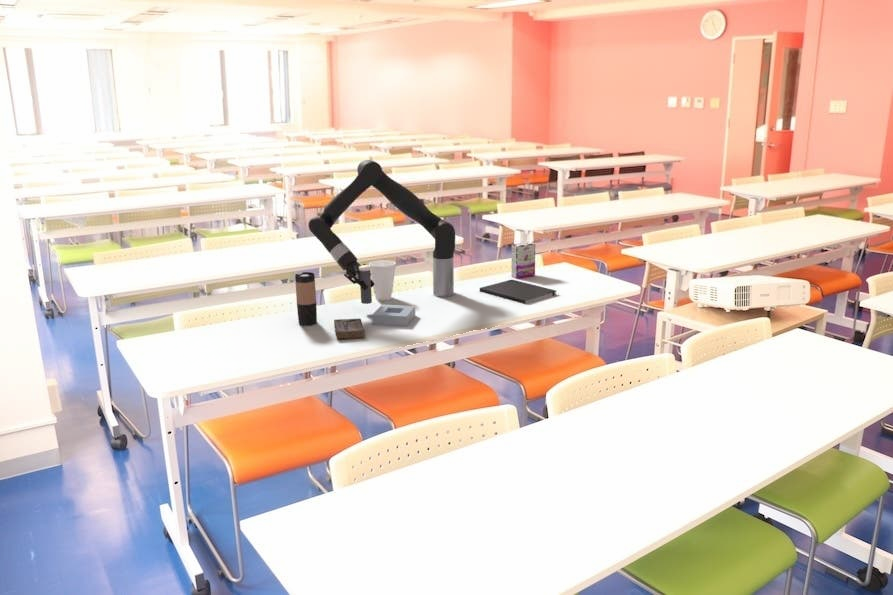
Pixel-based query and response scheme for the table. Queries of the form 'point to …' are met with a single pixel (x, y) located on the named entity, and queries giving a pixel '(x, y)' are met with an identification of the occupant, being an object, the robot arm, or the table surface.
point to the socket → (393, 315)
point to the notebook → (518, 291)
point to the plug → (366, 277)
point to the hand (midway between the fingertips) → (369, 287)
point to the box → (349, 328)
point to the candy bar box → (523, 260)
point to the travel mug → (306, 298)
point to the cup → (382, 278)
